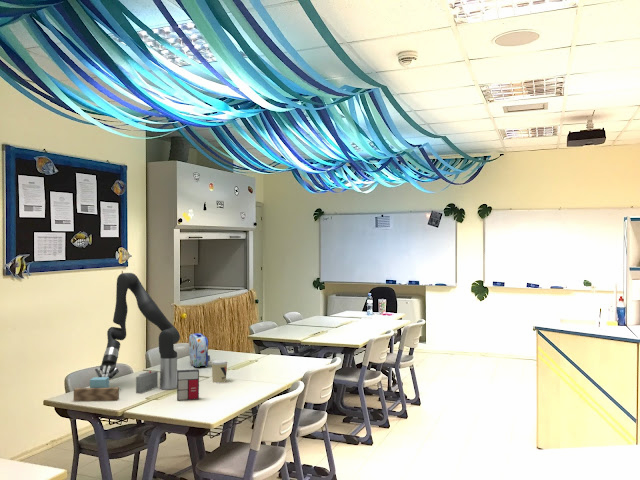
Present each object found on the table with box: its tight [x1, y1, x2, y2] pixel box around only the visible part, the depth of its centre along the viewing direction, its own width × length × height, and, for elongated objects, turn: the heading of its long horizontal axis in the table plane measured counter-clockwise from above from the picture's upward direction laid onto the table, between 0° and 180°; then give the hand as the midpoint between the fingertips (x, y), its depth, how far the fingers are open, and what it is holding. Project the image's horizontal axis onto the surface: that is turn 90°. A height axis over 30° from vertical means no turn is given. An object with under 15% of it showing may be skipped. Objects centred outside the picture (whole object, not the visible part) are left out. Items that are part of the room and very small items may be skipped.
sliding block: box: [89, 376, 110, 388], centre depth 288 cm, size 8×6×9 cm
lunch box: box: [188, 332, 211, 368], centre depth 372 cm, size 28×10×22 cm, turn 25°
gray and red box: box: [176, 368, 200, 401], centre depth 286 cm, size 11×4×15 cm, turn 105°
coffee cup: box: [211, 359, 228, 383], centre depth 325 cm, size 9×9×12 cm
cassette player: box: [135, 370, 159, 394], centre depth 304 cm, size 16×3×10 cm, turn 162°
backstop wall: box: [73, 387, 120, 402], centre depth 292 cm, size 22×22×6 cm
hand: (103, 384), depth 294 cm, fingers closed
